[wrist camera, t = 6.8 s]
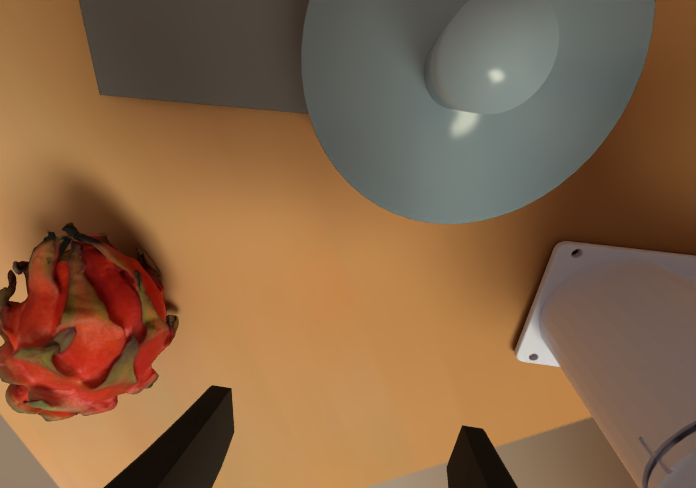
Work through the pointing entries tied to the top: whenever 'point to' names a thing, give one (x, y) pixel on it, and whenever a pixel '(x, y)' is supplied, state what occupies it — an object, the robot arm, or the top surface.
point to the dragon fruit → (81, 327)
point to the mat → (199, 51)
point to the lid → (468, 96)
